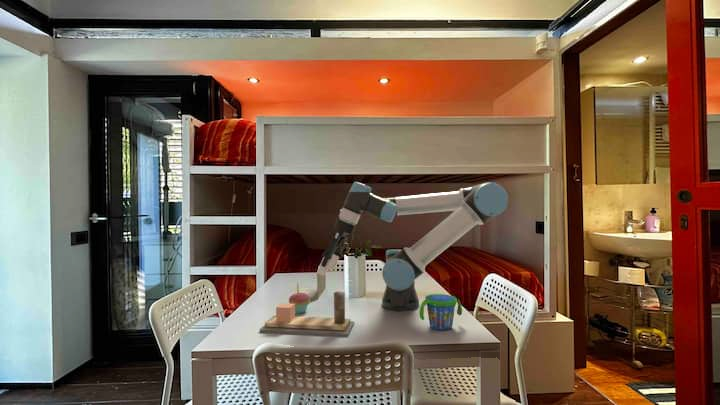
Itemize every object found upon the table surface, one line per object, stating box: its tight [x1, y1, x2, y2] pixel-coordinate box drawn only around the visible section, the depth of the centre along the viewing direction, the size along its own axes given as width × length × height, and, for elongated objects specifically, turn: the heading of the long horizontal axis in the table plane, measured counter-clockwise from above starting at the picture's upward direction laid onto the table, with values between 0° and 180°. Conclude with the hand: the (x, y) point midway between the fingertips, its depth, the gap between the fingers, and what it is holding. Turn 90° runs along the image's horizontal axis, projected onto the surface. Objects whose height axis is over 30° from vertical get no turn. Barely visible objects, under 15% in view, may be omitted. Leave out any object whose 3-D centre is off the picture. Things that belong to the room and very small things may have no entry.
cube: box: [275, 302, 296, 323], centre depth 130 cm, size 5×5×5 cm
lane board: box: [259, 320, 355, 338], centre depth 128 cm, size 30×12×1 cm, turn 81°
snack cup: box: [418, 293, 463, 331], centre depth 128 cm, size 16×10×10 cm
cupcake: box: [288, 281, 311, 314], centre depth 148 cm, size 9×8×12 cm
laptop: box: [294, 269, 327, 300], centre depth 174 cm, size 18×12×13 cm
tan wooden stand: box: [264, 291, 351, 330], centre depth 128 cm, size 28×8×11 cm, turn 81°
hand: (325, 272), depth 143 cm, fingers open, 13 cm apart
